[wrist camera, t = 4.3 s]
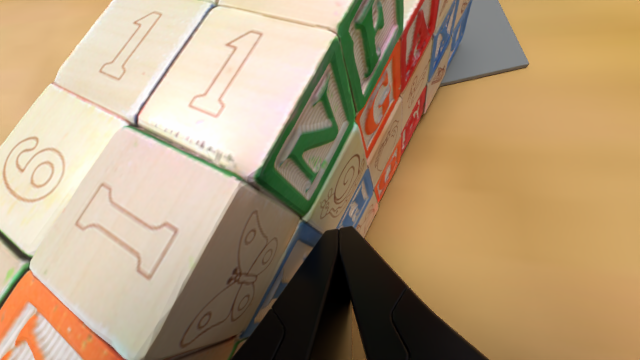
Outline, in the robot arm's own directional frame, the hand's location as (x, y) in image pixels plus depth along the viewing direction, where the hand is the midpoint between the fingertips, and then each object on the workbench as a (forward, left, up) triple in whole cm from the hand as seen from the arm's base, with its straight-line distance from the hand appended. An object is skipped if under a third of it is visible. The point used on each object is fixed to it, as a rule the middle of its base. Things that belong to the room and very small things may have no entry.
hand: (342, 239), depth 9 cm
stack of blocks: (+6, 0, -7) cm, 9 cm away
